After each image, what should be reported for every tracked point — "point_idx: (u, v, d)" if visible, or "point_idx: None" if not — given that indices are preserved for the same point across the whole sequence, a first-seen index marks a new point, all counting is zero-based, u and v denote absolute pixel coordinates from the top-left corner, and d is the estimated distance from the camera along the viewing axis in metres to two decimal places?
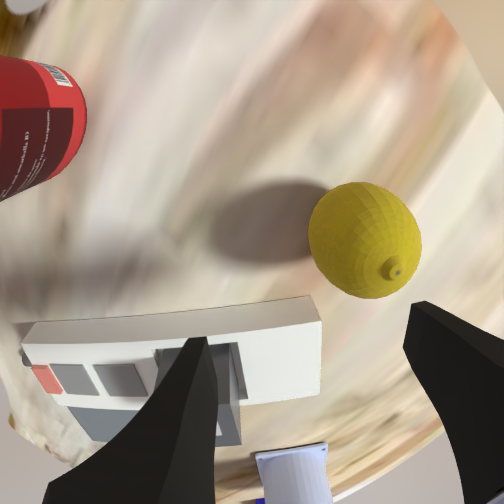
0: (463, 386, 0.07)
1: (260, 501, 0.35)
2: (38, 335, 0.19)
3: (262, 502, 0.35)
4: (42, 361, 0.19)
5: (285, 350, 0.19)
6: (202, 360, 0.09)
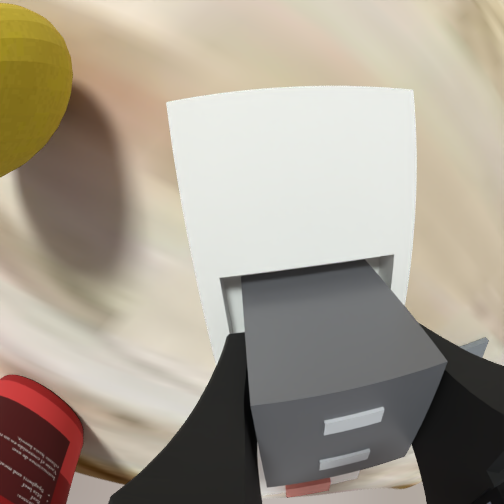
0: None
1: None
2: None
3: None
4: None
5: (250, 177, 0.08)
6: None
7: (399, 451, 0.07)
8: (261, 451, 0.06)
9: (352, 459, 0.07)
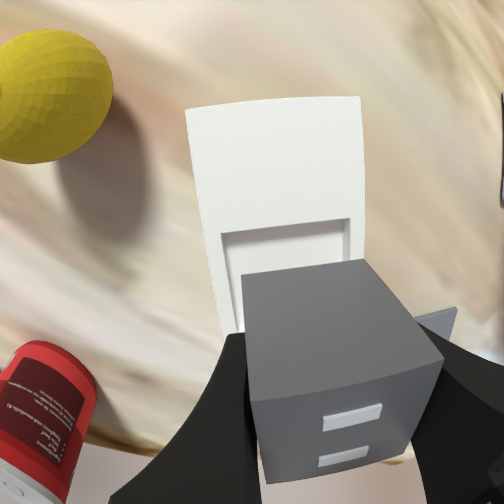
0: None
1: None
2: None
3: None
4: None
5: (242, 161, 0.12)
6: None
7: (397, 448, 0.07)
8: (261, 447, 0.07)
9: (351, 456, 0.07)
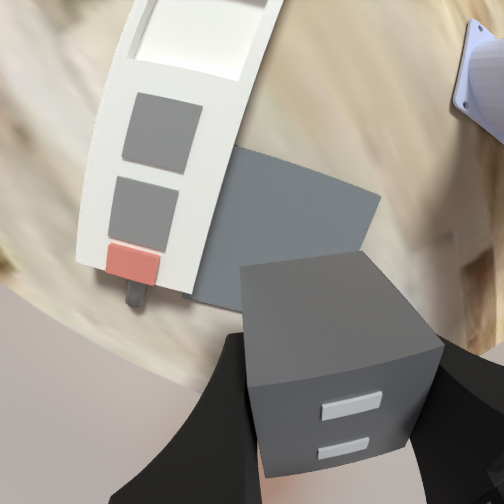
0: (426, 400, 0.07)
1: None
2: None
3: None
4: (104, 246, 0.16)
5: None
6: None
7: (398, 441, 0.07)
8: (259, 437, 0.06)
9: (351, 448, 0.07)
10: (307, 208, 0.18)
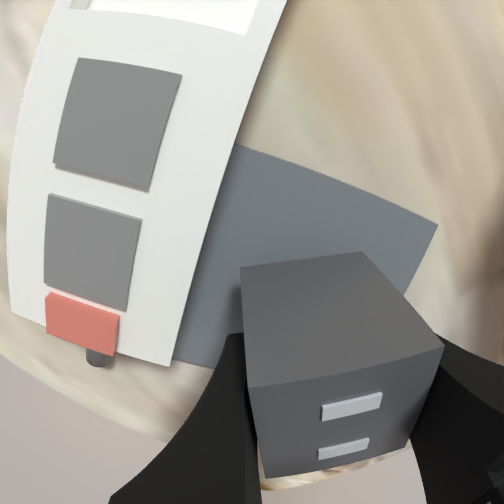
0: (426, 400, 0.07)
1: None
2: None
3: None
4: (42, 295, 0.10)
5: None
6: None
7: (399, 441, 0.07)
8: (259, 438, 0.06)
9: (351, 448, 0.07)
10: (341, 241, 0.12)
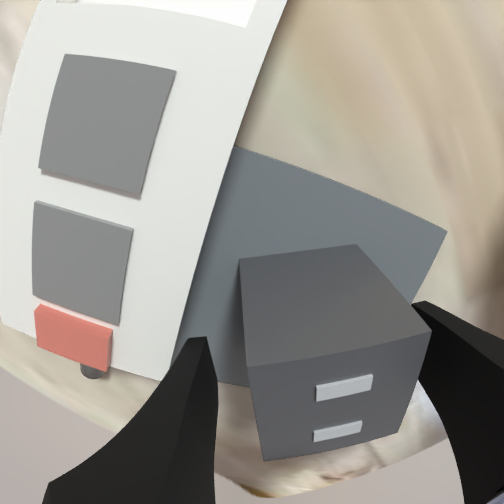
0: (463, 386, 0.07)
1: None
2: None
3: None
4: (32, 307, 0.09)
5: None
6: (202, 360, 0.09)
7: (391, 426, 0.08)
8: (257, 418, 0.07)
9: (345, 431, 0.08)
10: None
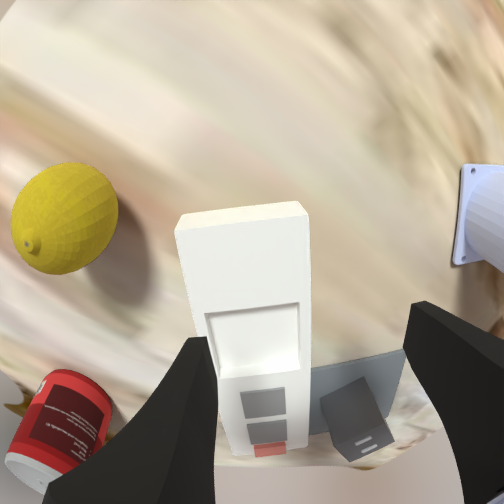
0: (463, 386, 0.07)
1: None
2: None
3: None
4: (249, 447, 0.24)
5: (217, 267, 0.17)
6: (202, 360, 0.09)
7: (390, 440, 0.21)
8: (341, 453, 0.21)
9: (371, 447, 0.21)
10: None
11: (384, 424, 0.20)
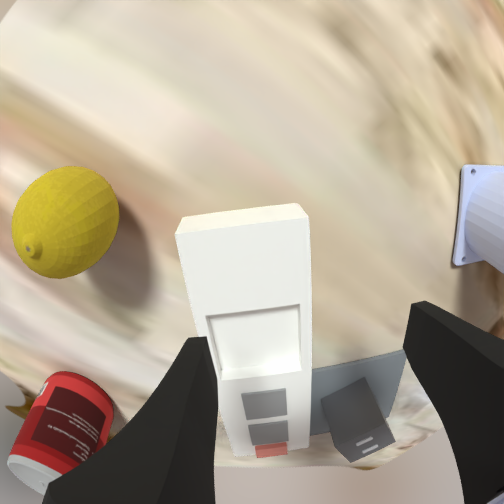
0: (463, 386, 0.07)
1: None
2: None
3: None
4: (251, 447, 0.24)
5: (218, 270, 0.17)
6: (202, 360, 0.09)
7: (390, 441, 0.21)
8: (342, 454, 0.21)
9: (372, 448, 0.21)
10: None
11: (385, 424, 0.20)
